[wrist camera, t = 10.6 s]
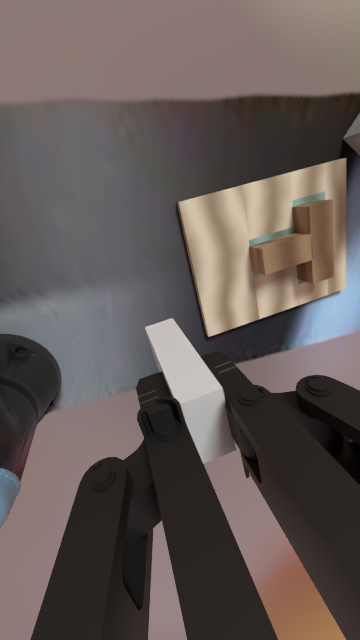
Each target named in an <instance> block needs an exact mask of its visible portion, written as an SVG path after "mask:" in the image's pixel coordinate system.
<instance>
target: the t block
mask: <svg viewBox="0 0 360 640" xmlns="http://www.w3.org/2000/svg"><path fill="white" fill-rule="evenodd" d="M292 212H293V226H294V233H291V234H288V235H285V236H282V237H278V238H275V239H272V240H268V241H265V242H262V243H259V244H255V245H252V246H249V251H250V258H251V265H252V271H255V272H258V273H260V274H263V275H267V274H271V273H274V272H277V271H280V270H283V269H286V268H289V267H292V266H295V265H296V268H297V279H299V280H302V281H305V282H308V283H312V284H315V283H318V282H320V281H323V280H326V279H329V278H332V277H334V237H333V199H332V200H318V201H312V202H308V203H305V204H301V205H298V206H294V207H292Z"/></svg>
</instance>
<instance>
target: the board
mask: <svg viewBox="0 0 360 640" xmlns="http://www.w3.org/2000/svg"><path fill="white" fill-rule="evenodd" d="M332 199H333V237H334V277H332V278H329V279H326V280H323V281H320V282H318V283H315V284H312V283H308V282H305V281H302V280H299V279H297V268H296V265H295V266H292V267H289V268H286V269H283V270H280V271H277V272H274V273H271V274H267V275H263V274H260V273H258V272H255V271H252V265H251V258H250V251H249V246H252V245H255V244H259V243H262V242H265V241H268V240H272V239H275V238H278V237H282V236H285V235H288V234H291V233H294V226H293V212H292V207H294V206H298V205H301V204H305V203H308V202H312V201H318V200H332ZM177 207H178V212H179V216H180V221H181V225H182V229H183V234H184V238H185V243H186V247H187V252H188V256H189V260H190V265H191V269H192V274H193V278H194V282H195V287H196V291H197V296H198V300H199V305H200V309H201V313H202V318H203V322H204V327H205V331H206V335H207V336H208V337H210V336H213V335H216V334H219V333H222V332H225V331H227V330H230V329H233V328H236V327H239V326H242V325H244V324H247V323H250V322H253V321H256V320H259V319H261V318H264V317H267V316H270V315H273V314H276V313H278V312H281V311H284V310H287V309H290V308H293V307H296V306H298V305H301V304H304V303H307V302H310V301H313V300H315V299H318V298H321V297H324V296H327V295H330V294H332V293H335V292H338V291H341V290H344V289H346V158H342V159H338V160H335V161H331V162H327V163H323V164H320V165H316V166H312V167H308V168H305V169H301V170H297V171H293V172H290V173H286V174H282V175H278V176H275V177H271V178H267V179H263V180H260V181H256V182H252V183H248V184H245V185H241V186H237V187H233V188H230V189H226V190H222V191H218V192H215V193H211V194H207V195H203V196H200V197H196V198H192V199H189V200H185V201H181V202H177Z"/></svg>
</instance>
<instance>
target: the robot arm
mask: <svg viewBox="0 0 360 640" xmlns="http://www.w3.org/2000/svg"><path fill="white" fill-rule="evenodd" d="M145 329H146V332H147V335H148V338H149V342H150V345H151V348H152V351H153V354H154V357H155V360H156V363H157V366H158V369H159V372H158V373H156V374H153V375H150V376H147V377H145V378H142V379H139V382H138V384H137V387H136V390H137V394H138V399H139V403H140V407H141V409H140V410H139V412H138V417H137V421H138V423H139V426H140V428H141V431H142V433H143V436H144V440H143V442H142V444H141V445H140V447H139V448H138V449H137V450H136V451H135V452H134V453H132V454H131V455H130V456H128V457H127V458H126V459H124V460H121V459H119V458H117V457H108V458H105V459H102V460H100V461H98V462H97V463H95V464H94V465H92V466H91V467H90V468H89V469H88V470H87V472H86V473H85V474H84V476H83V478H82V480H81V482H80V484H79V487H78V490H77V494H76V497H75V500H74V503H73V506H72V510H71V513H70V517H69V519H68V523H67V526H66V529H65V532H64V535H63V538H62V542H61V545H60V548H59V551H58V555H57V558H56V561H55V564H54V567H53V570H52V574H51V577H50V580H49V583H48V587H47V590H46V593H45V596H44V599H43V602H42V605H41V609H40V612H39V615H38V618H37V622H36V625H35V628H34V631H33V634H32V637H31V640H148V625H149V605H150V603H149V602H150V584H151V564H152V563H151V561H152V542H153V528H154V527H155V526H156V525H157V524H158V523H159V522H160V521H163V527H164V531H165V536H166V541H167V545H168V550H169V555H170V560H171V564H172V569H173V574H174V578H175V583H176V588H177V593H178V597H179V602H180V607H181V611H182V616H183V621H184V626H185V630H186V635H187V640H278V639H277V636H276V634H275V631H274V629H273V627H272V624H271V622H270V620H269V617H268V615H267V613H266V610H265V608H264V605H263V603H262V601H261V598H260V596H259V594H258V591H257V589H256V587H255V585H254V582H253V580H252V577H251V575H250V573H249V570H248V568H247V566H246V563H245V561H244V558H243V556H242V554H241V551H240V549H239V547H238V544H237V542H236V540H235V537H234V535H233V533H232V530H231V528H230V526H229V523H228V521H227V519H226V516H225V514H224V512H223V509H222V507H221V504H220V502H219V500H218V497H217V495H216V493H215V490H214V488H213V486H212V483H211V481H210V479H209V476H208V474H207V472H206V469H205V467H204V463H206V462H209V461H211V460H213V459H216V458H218V457H220V456H223V455H225V454H227V453H229V452H232V451H234V450H236V447H235V443H234V441H235V442H236V444H237V445H238V447H239V449H240V452H241V457H242V462H243V467H244V471H245V474H246V478H248V477H249V473H250V475H251V476H252V478H253V480H254V482H255V483H256V485H257V487H258V489H259V490H260V492H261V494H262V495H263V497H264V499H265V500H266V502H267V504H268V506H269V507H270V509H271V511H272V513H273V514H274V516H275V518H276V520H277V521H278V523H279V525H280V526H281V528H282V530H283V532H284V533H285V535H286V537H287V538H288V540H289V542H290V543H291V545H292V547H293V549H294V550H295V552H296V554H297V556H298V557H299V559H300V561H301V562H302V564H303V566H304V568H305V569H306V571H307V573H308V574H309V576H310V578H311V580H312V581H313V583H314V585H315V586H316V588H317V590H318V592H319V593H320V595H321V596H322V599H323V600H324V602H325V604H326V605H327V607H328V609H329V611H330V612H331V614H332V615H333V617H334V619H335V621H336V623H337V624H338V626H339V628H340V629H341V631H342V633H343V634H344V636H345V638H346V640H360V391H359V390H357V389H355V388H353V387H351V386H349V385H346V384H344V383H342V382H340V381H337V380H335V379H333V378H330V377H327V376H322V375H313V376H307V377H305V378H302V379H301V380H300V381H299V382H298V383H297V385H296V391H291V392H284V393H270V392H269V391H268V390H266V389H265V388H264V387H261V386H258V385H253V384H252V383H251V382H250V381H249V380H248V379H247V377H246V376H245V375H244V374H243V373H242V372H241V371H240V370H239V369H238V368H237V367H236V365H235V364H234V363H233V362H231V360H230V359H229V358H228V357H227V356H226V354H223V353H221V352H218V351H214V352H211V353H209V354H206V355H203V356H199V355H198V353H197V352H196V350H195V349H194V348H193V346H192V345H191V343H190V342H189V341H188V339H187V338H186V336H185V335H184V334H183V332H182V331H181V330H180V328H179V327H178V325H177V324H176V323H175V321H174V320H173V318H171V319H168V320H165V321H162V322H159V323H156V324H153V325H150V326H147V327H145ZM60 385H61V373H60V369H59V366H58V364H57V362H56V360H55V358H54V357H53V356H52V354H51V353H50V352H49V351H48V350H47V349H45V348H44V347H43V346H41V345H40V344H38V343H37V342H35V341H33V340H30V339H28V338H25V337H22V336H17V335H10V334H0V527H1V526H2V525H3V523H4V521H6V519H7V517H8V515H9V513H10V510H11V508H12V505H13V503H14V501H15V498H16V496H17V495H18V493H19V491H20V486H21V485H20V481H21V478H22V474H23V471H24V467H25V464H26V460H27V456H28V453H29V450H30V446H31V443H32V440H33V436H34V433H35V429H36V426H37V424H38V423H39V422H40V420H42V418H43V417H44V416H45V415H46V414H47V413H48V412H49V411H50V409H51V408H52V407H53V405H54V403H55V401H56V399H57V397H58V394H59V389H60Z"/></svg>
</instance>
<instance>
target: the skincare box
mask: <svg viewBox="0 0 360 640" xmlns="http://www.w3.org/2000/svg"><path fill="white" fill-rule="evenodd" d="M343 139H344V141H345V142H346V143H347V144H348V145H349V146H350V147H351V148H352V149H353V150H354V151H355V152H356V153H357V154H358V155H359V156H360V113H359V115H358V116H357V118H356V119H355V121H354V122H353V124H352V126H351V127H350V129H349V130H348V132H347V133H346V135H345V136H344V138H343Z"/></svg>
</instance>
